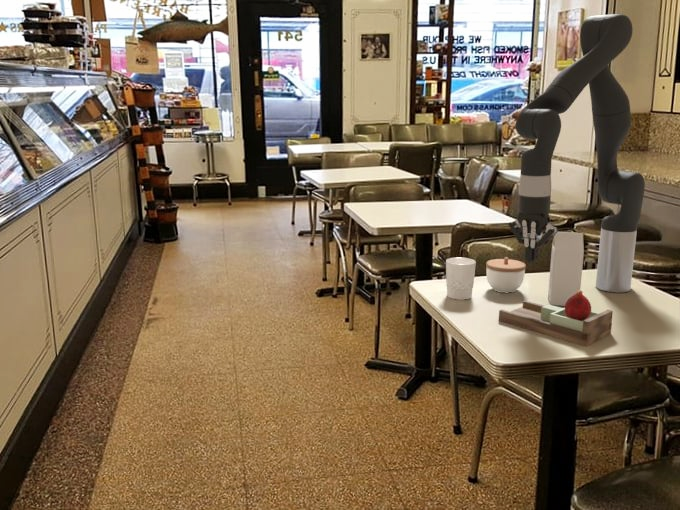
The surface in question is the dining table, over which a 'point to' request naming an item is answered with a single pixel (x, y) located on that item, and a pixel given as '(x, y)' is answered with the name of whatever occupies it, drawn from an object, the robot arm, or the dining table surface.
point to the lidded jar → (505, 274)
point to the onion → (578, 307)
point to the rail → (531, 320)
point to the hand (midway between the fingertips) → (531, 261)
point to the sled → (561, 317)
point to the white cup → (460, 277)
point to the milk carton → (565, 267)
